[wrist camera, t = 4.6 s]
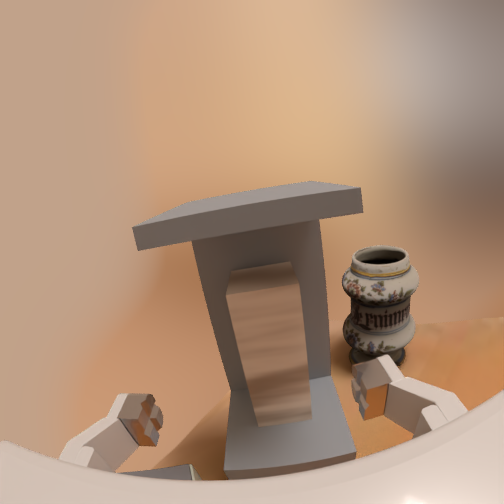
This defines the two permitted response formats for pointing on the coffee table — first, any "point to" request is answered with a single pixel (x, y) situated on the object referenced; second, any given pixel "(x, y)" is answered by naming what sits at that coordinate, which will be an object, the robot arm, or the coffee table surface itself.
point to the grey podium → (313, 307)
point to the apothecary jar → (379, 303)
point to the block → (271, 341)
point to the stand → (170, 473)
